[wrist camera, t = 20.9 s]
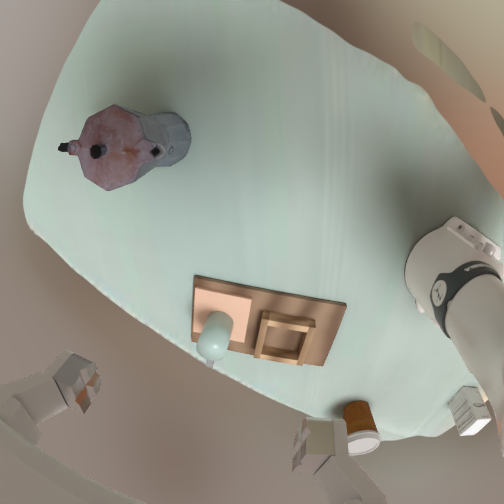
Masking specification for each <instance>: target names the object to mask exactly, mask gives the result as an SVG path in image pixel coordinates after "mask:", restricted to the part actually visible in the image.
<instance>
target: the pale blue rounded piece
mask: <svg viewBox="0 0 504 504" xmlns="http://www.w3.org/2000/svg"><path fill="white" fill-rule="evenodd" d="M233 326H234V322H233V319H232V318H231V317H230V316H229V315H228V314H226V313H224V312H220V311H216V312H212V313H211V314H209V316H208V317H207V320H206V322H205V325H204V327H203V330H202V332H201V335H200V337H199V340H198V342H197V345H196V349H197V351H198V353H199V354H200V355H201V356H202V357H204V358H205V359H207V362H206V366H207V367H211V368H213V364H214V361H217V360H221V359H223V358H224V357H225V355H226V352H227V348H228V345H229V341H230V337H231V334H232V330H233Z"/></svg>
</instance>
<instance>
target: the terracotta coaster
mask: <svg viewBox="0 0 504 504" xmlns="http://www.w3.org/2000/svg"><path fill="white" fill-rule="evenodd" d="M251 302H252V297H248V296H243V295H238V294H233V293H228V292H224V291H219V290H214V289H209V288H205V287H200V286H196V287H195V300H194V322H193V332H197V333H201V332H202V330H203V327H204V325H205V322H206V320H207V317H208V316H209V314H211V313H212V312H216V311H220V312H224V313H226V314H228V315H229V316H230V317H231V318H232V319H233V322H234V326H233V330H232V334H231V337H230V340H233V341H237V342H242V343H244V341H245V336H246V330H247V325H248V319H249V314H250V308H251Z"/></svg>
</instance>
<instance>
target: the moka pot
mask: <svg viewBox="0 0 504 504" xmlns="http://www.w3.org/2000/svg"><path fill="white" fill-rule="evenodd" d="M190 143H191V134H190V130H189V127H188V124H187V123H186V122H185V121H184V120H183V119H182V118H181V117H180V116H178V115H177V114H175V113H157V114H153V115H150V116H146V115H144V114H142V113H139V112H136V111H133V110H130V109H127V108H124V107H121V106H118V105H112V106H110V107H108V108H106V109H104V110H102V111H100V112H98V113H96V114H94V115H92V116H90V117H89V118H88V119H87V120H86V122H85V125H84V128H83V130H82V133H81V135H80V138H79V139H78V140H72V141H70V142H69V143H61V144H60V146H59V147H58V150H59V151H61V152H69V155H77V156H78V157H79V160H80V164H81V167H82V171H83V174H84V177H86V178H87V179H89V180H90V181H92V182H93V183H95V184H96V185H98V186H99V187H101V188H103V189H104V190H106V191H111V190H113V189H116V188H119V187H122V186H124V185H127V184H130V183H133V182H135V181H137V180H138V179H139V178H141V177H142V176H143V175H145V174H146V173H147V172H149V171H150V170H152V169H153V168H155V167H161V166H163V167H164V166H172V165H173V164H175V163H177V162H178V161H180V160H181V159H183V158H184V157H185V155H186V154H187V152H188V149H189V147H190Z"/></svg>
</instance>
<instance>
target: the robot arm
mask: <svg viewBox="0 0 504 504" xmlns="http://www.w3.org/2000/svg"><path fill="white" fill-rule="evenodd" d="M459 225H460V228H458V227H459ZM500 257H501V250H500V248H499V246H497V245H496V244H495V243H494V242H492V241H491V240H490V239H488V238H487V237H486V236H484V235H483V234H481V233H480V232H478V231H477V230H476V229H474V228H473V227H471V226H470V225H468V224H467V223H465V222H464V221H462V220H461V219H459V218H458V217H452V218H450V219H449V220H448V221H447V222H446V223H445V224H444V225H443V226H442V227H441V228H439V229H436V230H434V231H432V232H430V233H428V234H427V235H425V236H424V237H423V238H422V239H421V240H420V241H419V242H418V243H417V244H416V245H415V247H414V248H413V250H412V251H411V253H410V255H409V257H408V260H407V264H406V268H405V280H406V284H407V287H408V289H409V291H410V292H411V293H412V295H413V296H414V297H415V300H416V306H417V309H418V310H419V311H420V312H421V313H426V314H427V315H428V316H429V318H430V319H431V320H432V321H433V323H434V324H435V325H436V326H438V327H440V329H441V330H442V331H443V332H444V333H445V335H446V336H447V337H448V338H450V339H451V340H452V341H453V343H454V345H455V347H456V348H457V350H458V352H459V354H460V355H461V357H462V359H463V361H464V363H465V365H466V366H467V368H468V370H469V371H470V372H471V373H472V374H473V375H474V376H475V378H476V379H477V381H478V382H479V384H480V385H481V387H482V389H483V390H484V392H485V394H486V395H487V397H488V399H489V401H490V403H491V405H492V408H493V410H494V413H495V417H496V421H497V426H498V432H499V446H500V450H501V453H502V455H503V457H504V283H503V282H502V281H503V277H504V265H503V264H502V263H501V262H500ZM96 370H97V366H96V363H94V362H92V361H90V360H87V359H85V358H83V357H81V356H79V355H77V354H75V353H73V352H71V351H68V350H63V351H61V353H60V354H59V355H58V356H57V357H56V358H55V359H54V361H53V362H52V363H51V364H50V365H49V366H48V368H47V369H46V370H45V371H44V372H43V373H42V372H38V373H35V374H33V375H29V376H27V377H24V378H21V379H18V380H15V381H12V382H9V383H6V384H3V385H0V504H147V503H145V502H142V501H139V500H137V499H134V498H131V497H129V496H127V495H124V494H122V493H119V492H117V491H115V490H113V489H111V488H108V487H106V486H104V485H102V484H100V483H98V482H96V481H94V480H92V479H90V478H88V477H86V476H84V475H82V474H80V473H78V472H77V471H75V470H73V469H71V468H69V467H68V466H66V465H64V464H63V463H61V462H60V461H58V460H56V459H55V458H53V457H52V456H50V455H48V454H47V453H45V452H44V451H42V450H41V449H39V448H38V447H36V445H37V443H38V441H39V440H40V439H41V437H42V433H41V431H40V430H39V429H38V427H37V426H36V425H37V424H39V423H41V422H42V421H44V420H46V419H48V418H50V417H52V416H54V415H55V414H57V413H59V412H61V411H63V410H65V409H66V408H68V407H70V408H72V409H74V410H76V411H78V412H80V413H82V414H85V412H86V411H87V409H88V407H89V406H90V404H91V398H92V397H95V396H96V395H97V394H98V392H99V390H100V386H101V378H100V376H99V374H98V373H97V372H96ZM293 449H294V450H295V452H296V454H295V456H294V457H293V461H292V473H299V474H310V475H313V476H314V478H315V480H316V481H317V483H318V485H319V486H320V488H321V490H322V491H323V493H324V495H325V496H326V498H327V500H328V501H329V503H330V504H387V503H386V496H385V494H384V493H383V492H382V491H381V490H380V489H379V488H378V486H377V485H376V484H375V483H374V482H373V480H372V479H371V478H370V477H369V476H368V474H367V473H366V472H365V471H364V470H363V468H362V467H361V466H360V465H359V464H358V462H357V461H356V460H355V459H354V457H352V456H349V450H348V438H347V428H346V422H345V420H342V419H330V418H315V417H304V418H303V420H302V426H301V427H299V428H298V429H297V431H296V435H295V438H294V447H293Z"/></svg>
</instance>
